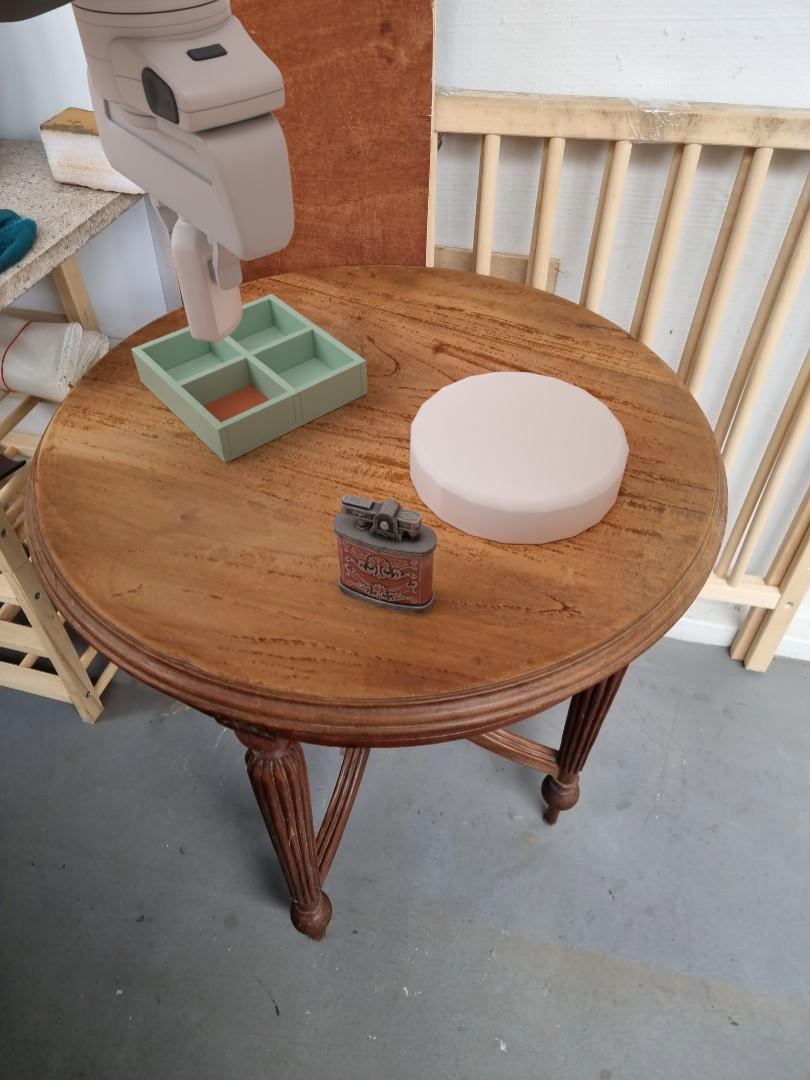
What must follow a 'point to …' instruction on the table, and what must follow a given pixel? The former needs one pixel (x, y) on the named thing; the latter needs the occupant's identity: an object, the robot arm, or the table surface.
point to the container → (517, 457)
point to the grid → (252, 377)
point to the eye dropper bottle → (202, 286)
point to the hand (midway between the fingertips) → (206, 268)
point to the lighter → (385, 555)
